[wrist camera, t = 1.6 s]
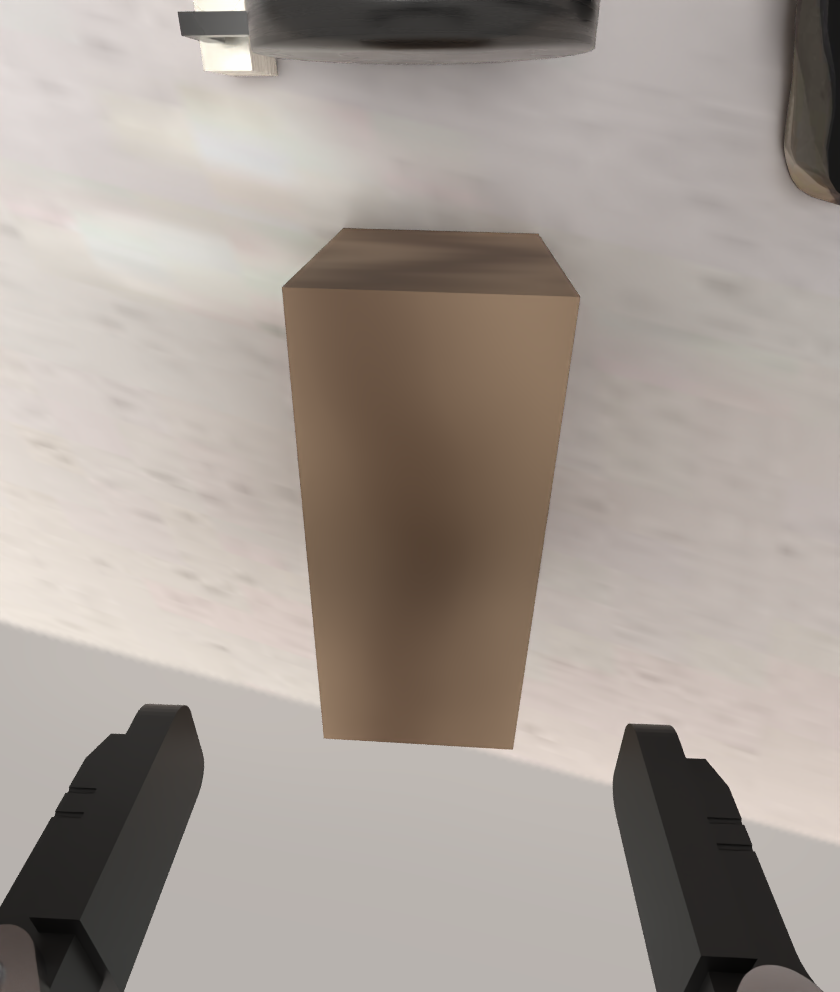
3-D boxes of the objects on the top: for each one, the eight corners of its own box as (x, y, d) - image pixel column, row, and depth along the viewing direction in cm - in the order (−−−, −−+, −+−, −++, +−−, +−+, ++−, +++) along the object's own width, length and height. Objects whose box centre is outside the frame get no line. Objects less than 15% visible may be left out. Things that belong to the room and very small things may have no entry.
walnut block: (537, 233, 19) (580, 297, 12) (499, 586, 27) (512, 749, 20) (344, 227, 20) (281, 286, 13) (358, 579, 27) (323, 738, 20)
